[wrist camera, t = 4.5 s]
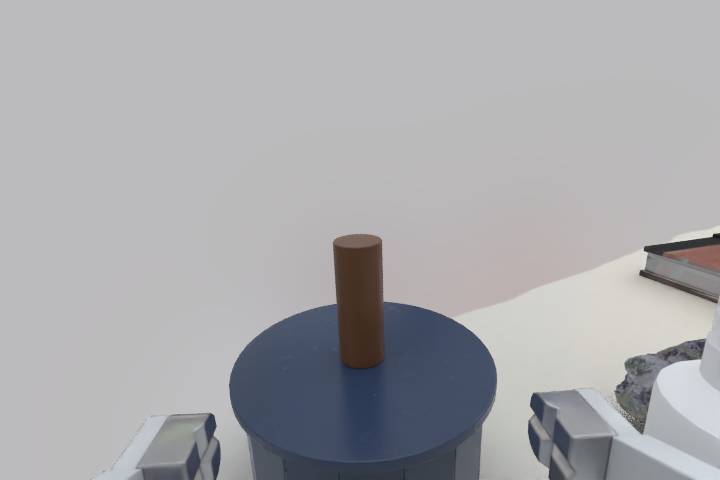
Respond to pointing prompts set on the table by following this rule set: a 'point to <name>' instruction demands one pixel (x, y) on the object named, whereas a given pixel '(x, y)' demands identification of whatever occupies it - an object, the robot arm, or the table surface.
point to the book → (687, 266)
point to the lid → (362, 377)
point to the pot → (438, 476)
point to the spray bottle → (690, 402)
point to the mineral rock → (651, 375)
